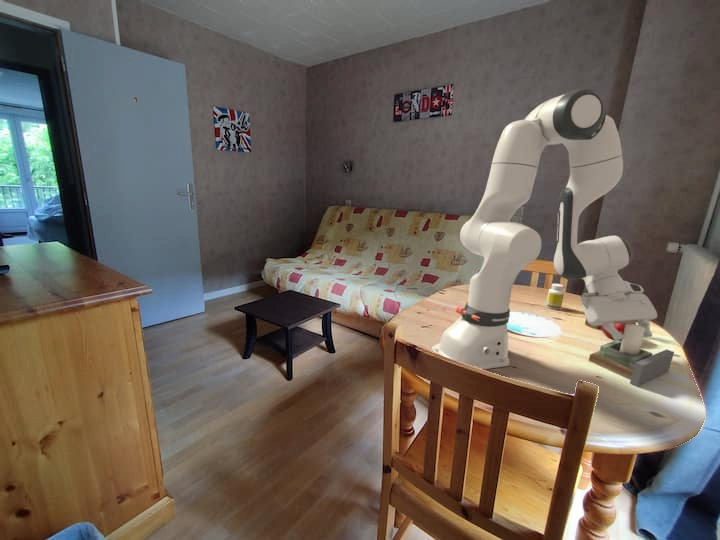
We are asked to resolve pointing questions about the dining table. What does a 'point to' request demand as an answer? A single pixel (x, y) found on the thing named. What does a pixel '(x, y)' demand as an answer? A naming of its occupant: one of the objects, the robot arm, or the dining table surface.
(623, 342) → the dowel
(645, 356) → the socket block
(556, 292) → the supplement bottle
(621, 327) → the pomegranate
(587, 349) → the dining table surface
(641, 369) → the backstop wall
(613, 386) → the dining table surface
